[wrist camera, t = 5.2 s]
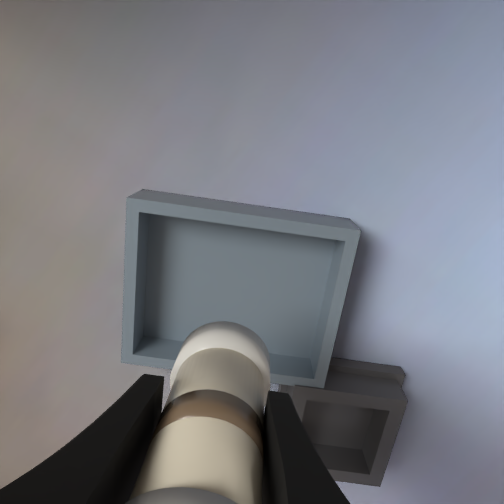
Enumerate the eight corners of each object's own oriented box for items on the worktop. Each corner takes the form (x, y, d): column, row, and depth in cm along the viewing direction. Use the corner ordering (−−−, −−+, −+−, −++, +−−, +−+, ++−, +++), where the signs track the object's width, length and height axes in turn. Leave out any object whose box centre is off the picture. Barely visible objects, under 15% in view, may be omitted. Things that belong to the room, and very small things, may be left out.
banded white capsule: (276, 328, 14) (285, 583, 6) (263, 405, 15) (256, 706, 7) (182, 315, 14) (70, 553, 6) (176, 393, 15) (74, 681, 7)
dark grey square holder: (400, 366, 23) (417, 396, 20) (372, 456, 25) (385, 492, 22) (285, 351, 23) (288, 378, 20) (268, 442, 25) (268, 477, 22)
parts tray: (349, 218, 20) (361, 230, 18) (316, 362, 23) (323, 389, 20) (142, 189, 20) (126, 197, 17) (135, 338, 23) (121, 362, 20)
